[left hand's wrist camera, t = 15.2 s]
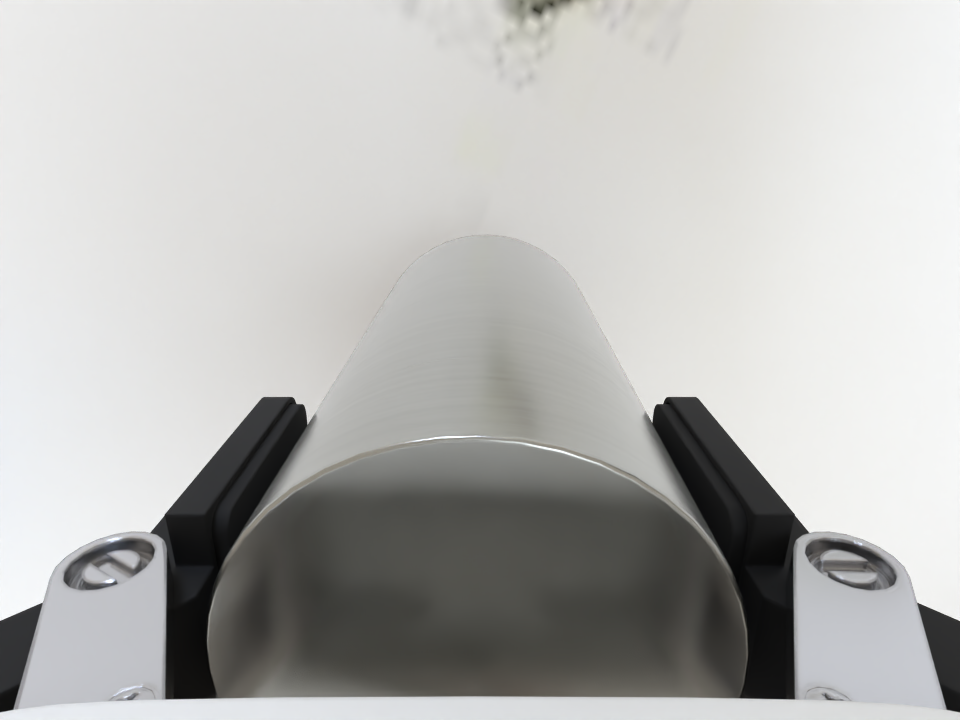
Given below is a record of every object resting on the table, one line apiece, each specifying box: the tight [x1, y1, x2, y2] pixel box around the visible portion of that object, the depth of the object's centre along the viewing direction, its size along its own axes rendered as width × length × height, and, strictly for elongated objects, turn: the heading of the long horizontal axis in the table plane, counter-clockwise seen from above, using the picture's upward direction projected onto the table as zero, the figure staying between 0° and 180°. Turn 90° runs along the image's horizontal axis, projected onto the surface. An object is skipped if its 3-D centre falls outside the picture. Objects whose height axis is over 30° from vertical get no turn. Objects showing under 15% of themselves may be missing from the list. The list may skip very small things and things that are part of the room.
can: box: [205, 235, 750, 699], centre depth 13 cm, size 7×7×12 cm
